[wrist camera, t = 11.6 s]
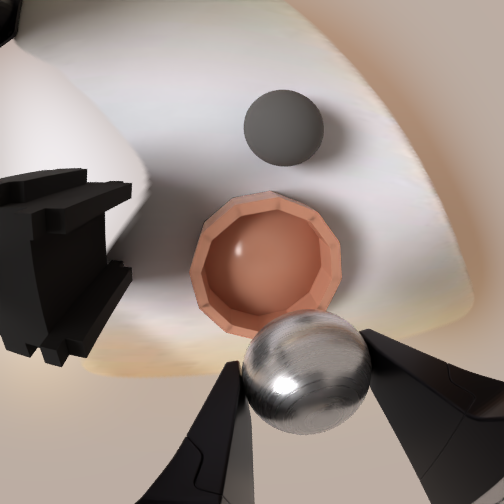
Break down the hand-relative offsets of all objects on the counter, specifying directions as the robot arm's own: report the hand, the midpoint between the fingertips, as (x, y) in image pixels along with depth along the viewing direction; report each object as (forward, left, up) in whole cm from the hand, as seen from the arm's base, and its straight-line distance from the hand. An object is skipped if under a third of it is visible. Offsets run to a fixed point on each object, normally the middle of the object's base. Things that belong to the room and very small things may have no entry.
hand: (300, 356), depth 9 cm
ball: (-7, +2, -7) cm, 11 cm away
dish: (0, 0, -9) cm, 9 cm away
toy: (-3, -7, -2) cm, 8 cm away
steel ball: (0, 0, +1) cm, 1 cm away
